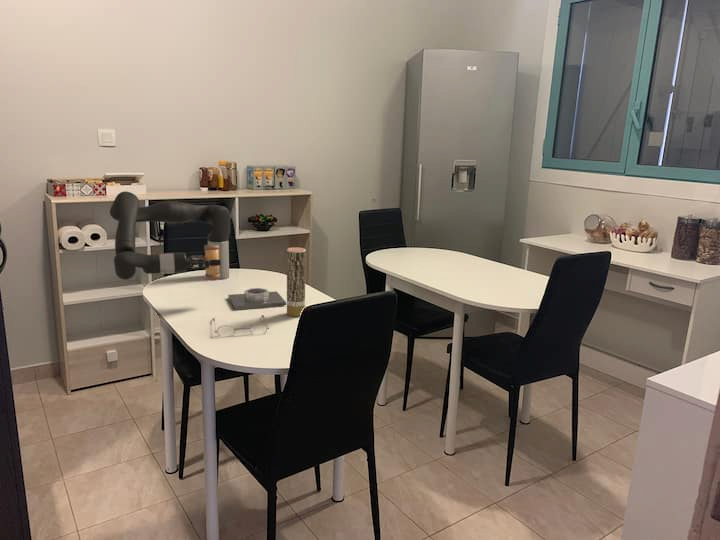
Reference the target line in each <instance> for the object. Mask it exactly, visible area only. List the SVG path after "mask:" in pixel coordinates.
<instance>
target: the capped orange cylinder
mask: <svg viewBox="0 0 720 540" xmlns="http://www.w3.org/2000/svg"><path fill="white" fill-rule="evenodd" d="M203 249H204V253H205V254H204V255H205V260H218V259H219V245H216V244H209V245H208V244H205V245H203ZM204 265H206V263H204ZM204 275H205V276H204V277H205V278H204V279H205V280H206V281H209V282H213V281H219V280H221V279H220V273H219V266H210V267H209V268H205V274H204Z"/></svg>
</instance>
